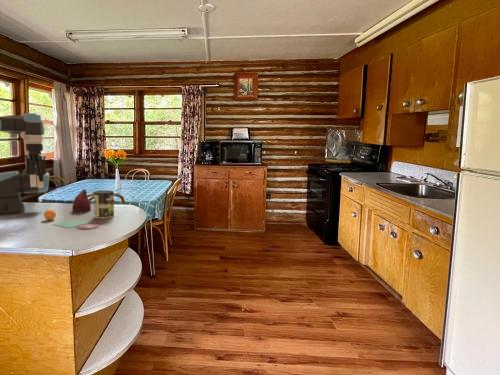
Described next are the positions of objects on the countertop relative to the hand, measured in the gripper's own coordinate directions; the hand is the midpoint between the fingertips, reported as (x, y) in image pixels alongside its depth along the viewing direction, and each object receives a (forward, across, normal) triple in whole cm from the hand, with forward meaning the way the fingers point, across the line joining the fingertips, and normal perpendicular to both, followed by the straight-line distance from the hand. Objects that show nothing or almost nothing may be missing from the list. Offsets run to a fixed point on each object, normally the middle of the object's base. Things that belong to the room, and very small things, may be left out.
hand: (37, 187), depth 178 cm
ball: (+14, +10, 0) cm, 17 cm away
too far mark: (+17, +38, 0) cm, 42 cm away
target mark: (+17, +26, 0) cm, 31 cm away
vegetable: (+17, +2, +24) cm, 30 cm away
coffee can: (+17, +26, +20) cm, 37 cm away
